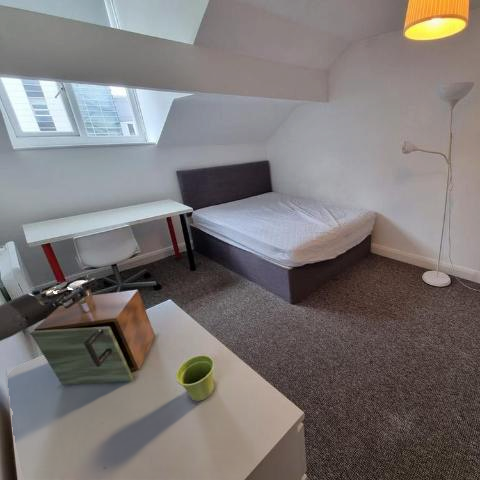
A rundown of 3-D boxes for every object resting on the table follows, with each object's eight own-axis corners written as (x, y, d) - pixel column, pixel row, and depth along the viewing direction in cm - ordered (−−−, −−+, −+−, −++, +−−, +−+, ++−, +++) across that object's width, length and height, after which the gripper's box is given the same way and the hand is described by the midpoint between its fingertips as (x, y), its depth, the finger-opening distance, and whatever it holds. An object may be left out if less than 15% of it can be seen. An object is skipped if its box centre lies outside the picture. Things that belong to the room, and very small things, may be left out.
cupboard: (138, 369, 82) (116, 318, 74) (65, 381, 79) (33, 329, 71) (155, 336, 95) (137, 289, 87) (92, 346, 92) (68, 298, 84)
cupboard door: (120, 397, 74) (93, 343, 66) (46, 401, 73) (10, 348, 65) (133, 377, 79) (110, 326, 71) (65, 382, 79) (33, 330, 71)
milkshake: (105, 304, 80) (92, 275, 76) (84, 315, 76) (69, 285, 72) (96, 300, 82) (83, 272, 78) (75, 311, 77) (61, 282, 73)
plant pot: (188, 414, 69) (180, 392, 65) (180, 388, 76) (172, 366, 72) (224, 393, 74) (218, 371, 70) (213, 370, 81) (208, 349, 77)
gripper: (4, 323, 67) (79, 286, 82) (38, 336, 62) (111, 294, 77) (-12, 298, 64) (69, 265, 79) (23, 310, 59) (102, 272, 74)
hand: (90, 280), depth 78 cm, fingers closed on milkshake, 4 cm apart
